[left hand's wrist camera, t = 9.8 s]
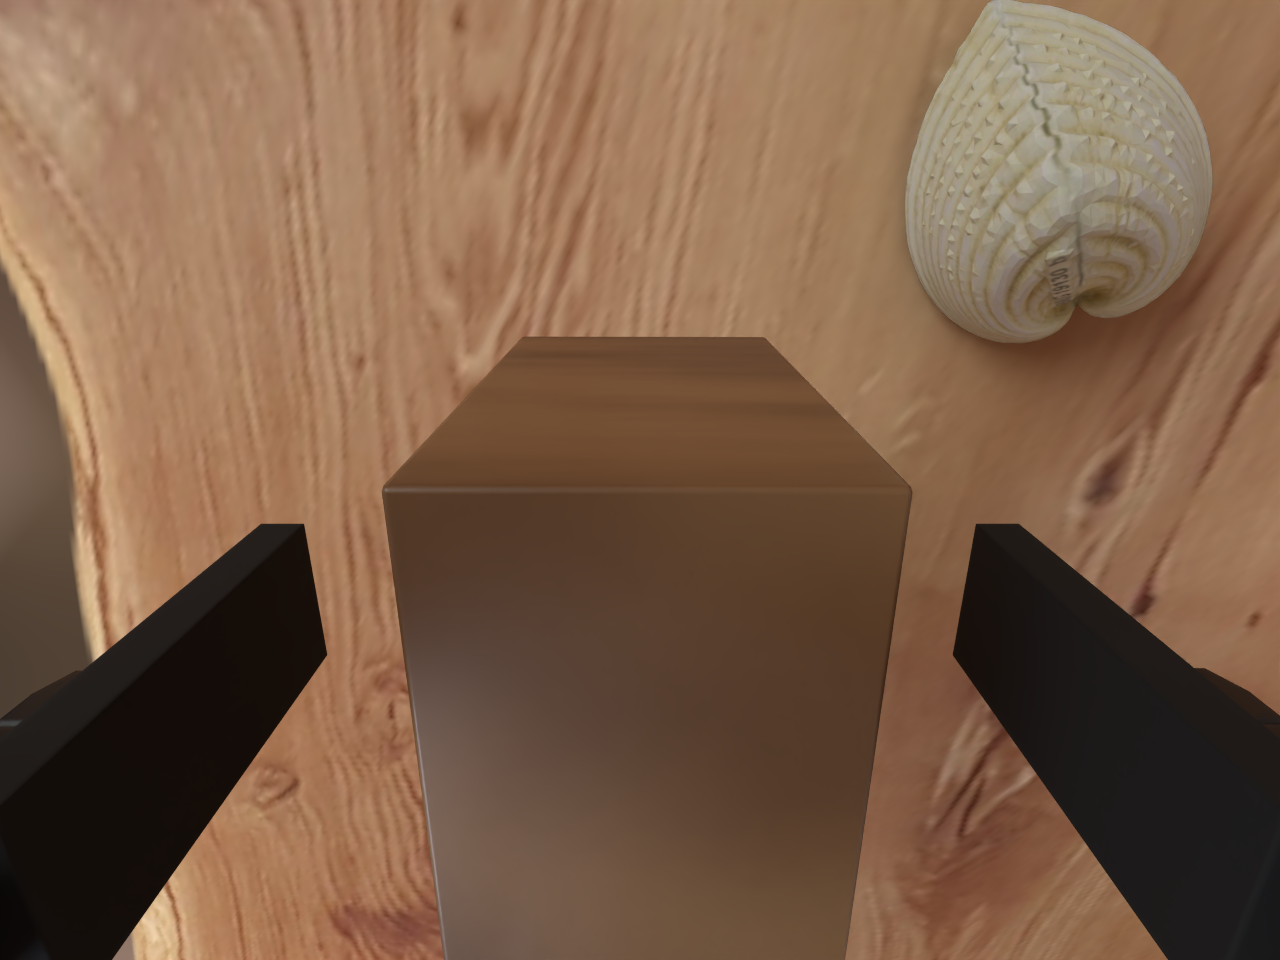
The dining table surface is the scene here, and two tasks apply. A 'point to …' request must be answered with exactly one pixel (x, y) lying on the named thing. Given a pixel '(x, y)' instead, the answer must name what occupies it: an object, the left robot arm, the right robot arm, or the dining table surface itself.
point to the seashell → (1053, 176)
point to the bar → (645, 652)
